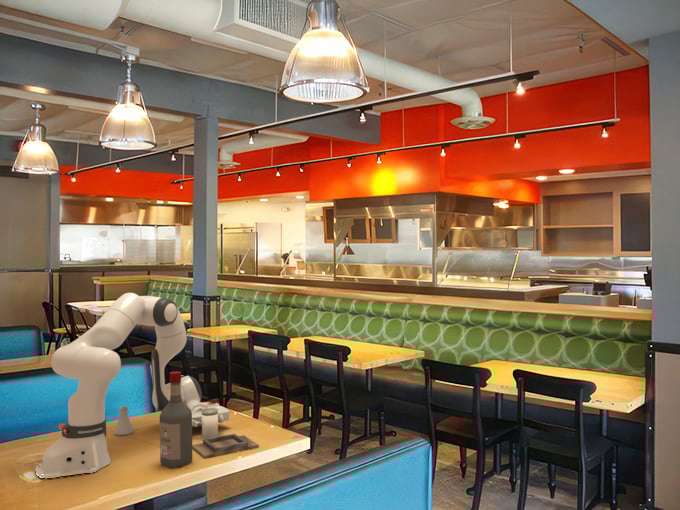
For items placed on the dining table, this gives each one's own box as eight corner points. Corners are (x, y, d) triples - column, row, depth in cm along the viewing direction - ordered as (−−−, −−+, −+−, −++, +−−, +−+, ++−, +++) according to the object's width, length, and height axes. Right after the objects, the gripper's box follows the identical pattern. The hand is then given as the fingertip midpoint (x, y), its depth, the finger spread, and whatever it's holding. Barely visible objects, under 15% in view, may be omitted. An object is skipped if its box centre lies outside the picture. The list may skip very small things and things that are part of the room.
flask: (137, 430, 235) (136, 405, 235) (128, 436, 228) (128, 410, 227) (119, 430, 236) (119, 404, 235) (110, 435, 228) (110, 409, 228)
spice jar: (205, 440, 222) (204, 413, 222) (199, 436, 227) (199, 409, 227) (220, 437, 225) (220, 410, 225) (214, 433, 230) (214, 407, 230)
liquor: (176, 469, 193) (174, 376, 192) (156, 464, 198) (154, 373, 197) (196, 461, 201) (195, 371, 200) (177, 456, 205) (175, 368, 205)
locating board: (204, 458, 203) (204, 451, 203) (191, 448, 214) (191, 441, 214) (258, 447, 213) (258, 440, 213) (243, 437, 224) (243, 431, 224)
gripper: (171, 410, 232) (182, 418, 220) (221, 402, 243) (234, 410, 231) (171, 426, 232) (182, 435, 220) (221, 417, 243) (235, 426, 231)
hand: (209, 422), depth 226 cm, fingers open, 8 cm apart
